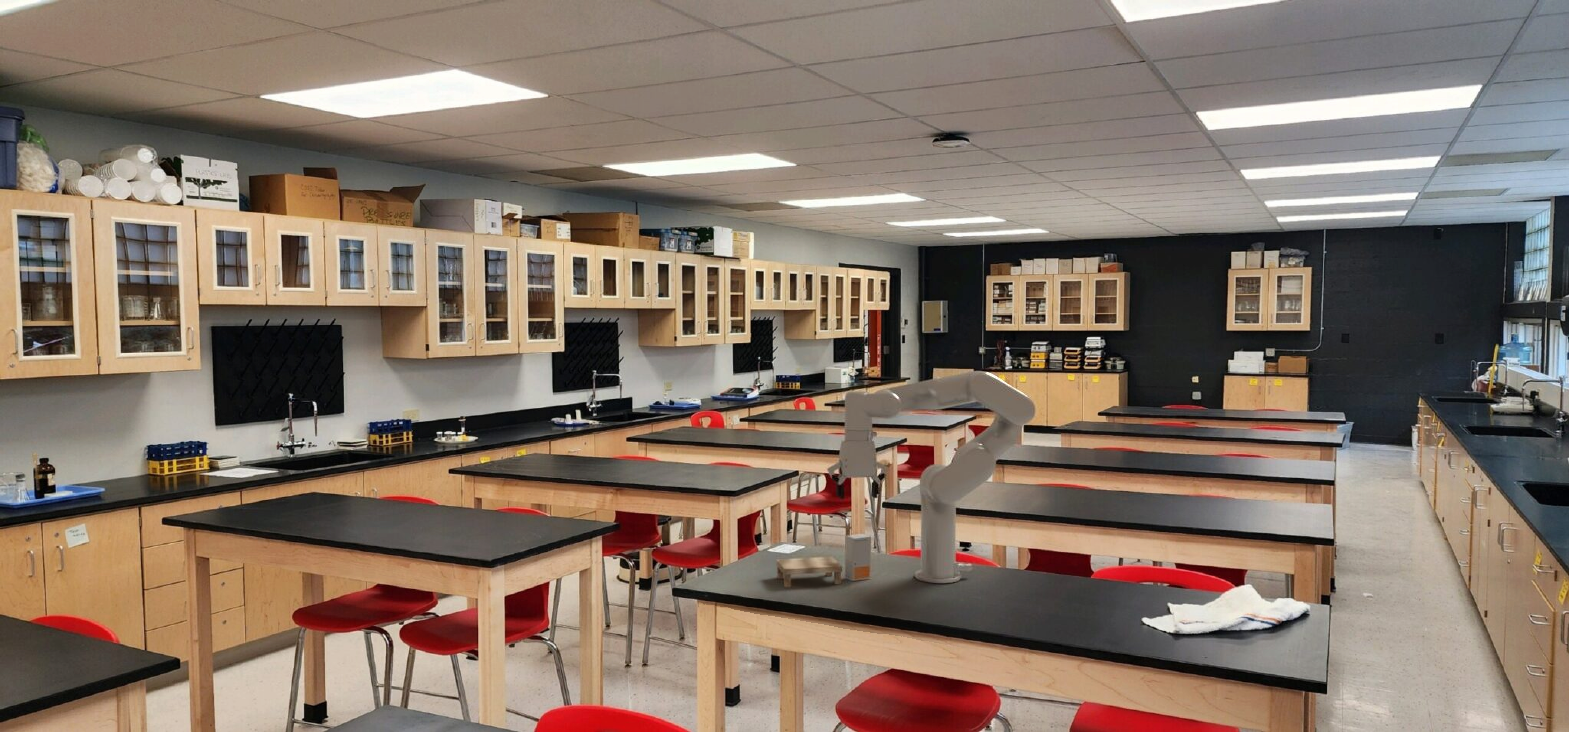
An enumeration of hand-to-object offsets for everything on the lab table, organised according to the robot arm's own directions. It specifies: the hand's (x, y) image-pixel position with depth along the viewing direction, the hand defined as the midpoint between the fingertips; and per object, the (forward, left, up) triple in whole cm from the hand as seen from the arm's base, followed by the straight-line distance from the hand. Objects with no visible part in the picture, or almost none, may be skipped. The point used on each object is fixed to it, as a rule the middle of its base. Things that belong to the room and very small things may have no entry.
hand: (857, 497), depth 262 cm
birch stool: (+14, -1, -23) cm, 26 cm away
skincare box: (0, 0, -23) cm, 23 cm away
